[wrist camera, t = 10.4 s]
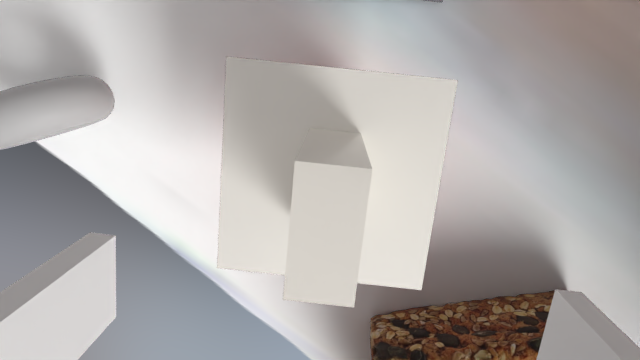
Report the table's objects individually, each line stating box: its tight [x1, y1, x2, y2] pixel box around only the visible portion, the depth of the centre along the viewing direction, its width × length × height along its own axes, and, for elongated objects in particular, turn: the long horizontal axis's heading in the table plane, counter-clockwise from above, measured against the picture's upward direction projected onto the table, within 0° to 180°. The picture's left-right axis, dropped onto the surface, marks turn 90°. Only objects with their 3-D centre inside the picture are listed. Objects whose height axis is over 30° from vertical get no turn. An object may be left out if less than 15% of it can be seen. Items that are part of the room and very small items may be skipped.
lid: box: [217, 57, 458, 308], centre depth 23 cm, size 13×13×10 cm
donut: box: [0, 75, 115, 149], centre depth 32 cm, size 10×3×10 cm, turn 107°
